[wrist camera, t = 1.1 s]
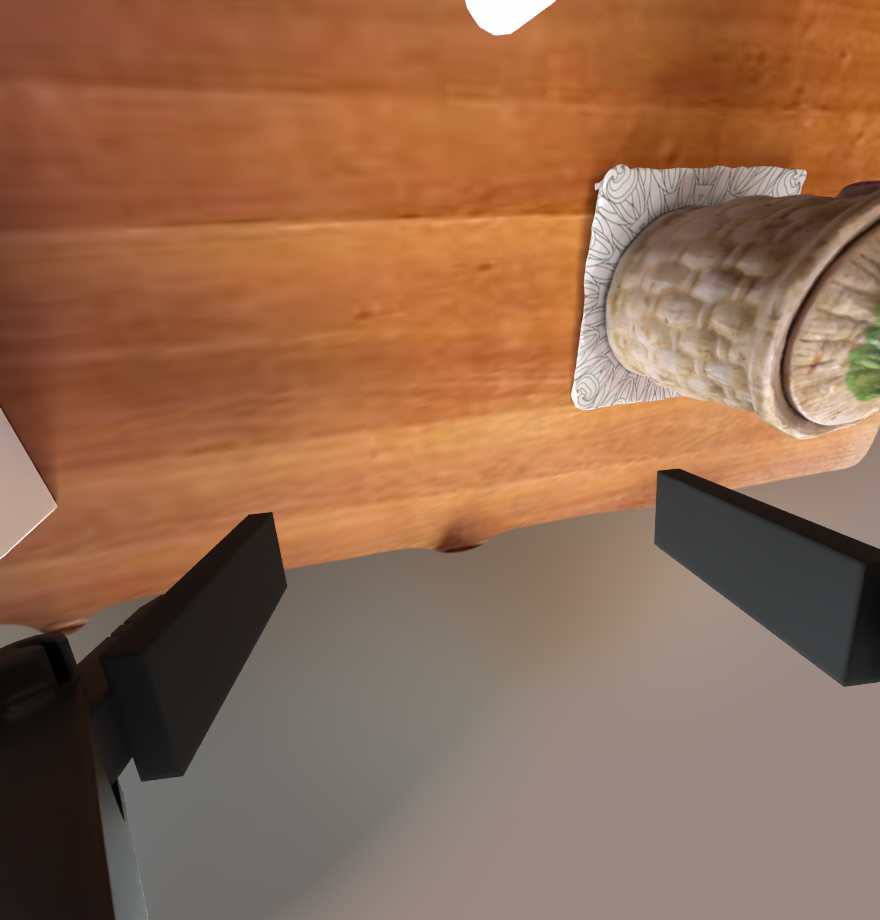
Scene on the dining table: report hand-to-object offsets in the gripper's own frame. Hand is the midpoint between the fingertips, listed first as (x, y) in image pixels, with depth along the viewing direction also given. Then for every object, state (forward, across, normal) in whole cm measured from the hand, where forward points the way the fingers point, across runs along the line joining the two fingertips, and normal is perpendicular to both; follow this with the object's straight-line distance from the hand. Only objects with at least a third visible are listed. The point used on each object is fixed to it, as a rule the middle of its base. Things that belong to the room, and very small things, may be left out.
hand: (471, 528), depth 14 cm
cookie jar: (+36, +29, +10) cm, 47 cm away
